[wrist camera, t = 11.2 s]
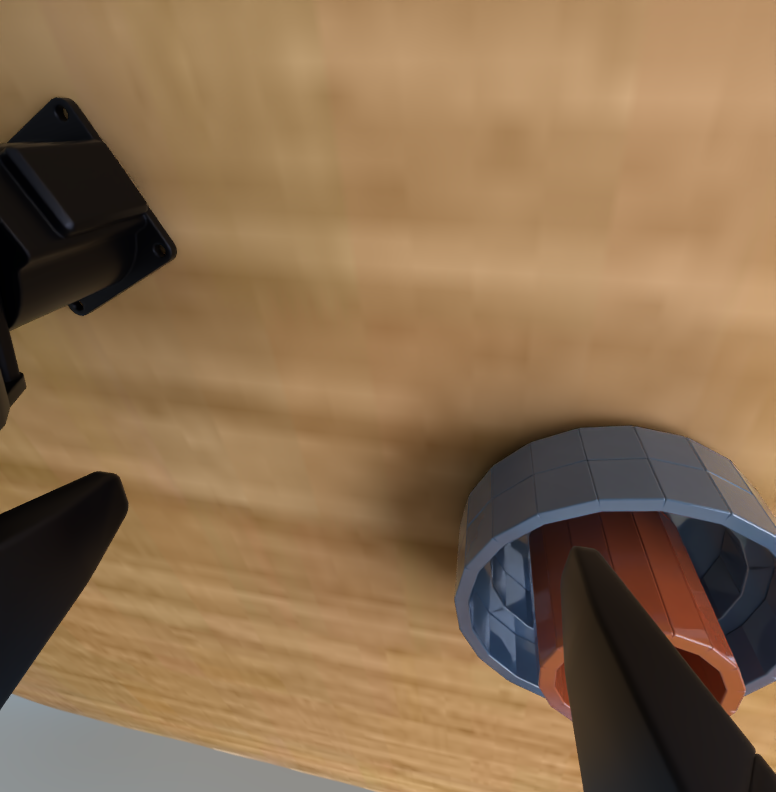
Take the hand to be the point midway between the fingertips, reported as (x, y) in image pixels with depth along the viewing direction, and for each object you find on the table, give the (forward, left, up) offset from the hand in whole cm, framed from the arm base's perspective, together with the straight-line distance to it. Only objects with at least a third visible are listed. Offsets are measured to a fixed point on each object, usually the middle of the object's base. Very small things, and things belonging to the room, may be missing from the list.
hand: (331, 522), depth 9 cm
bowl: (+3, -14, -12) cm, 19 cm away
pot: (+3, -14, -11) cm, 18 cm away
